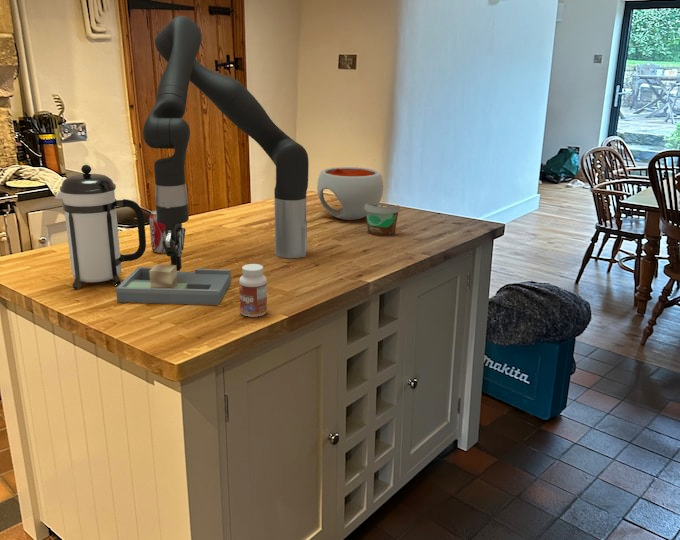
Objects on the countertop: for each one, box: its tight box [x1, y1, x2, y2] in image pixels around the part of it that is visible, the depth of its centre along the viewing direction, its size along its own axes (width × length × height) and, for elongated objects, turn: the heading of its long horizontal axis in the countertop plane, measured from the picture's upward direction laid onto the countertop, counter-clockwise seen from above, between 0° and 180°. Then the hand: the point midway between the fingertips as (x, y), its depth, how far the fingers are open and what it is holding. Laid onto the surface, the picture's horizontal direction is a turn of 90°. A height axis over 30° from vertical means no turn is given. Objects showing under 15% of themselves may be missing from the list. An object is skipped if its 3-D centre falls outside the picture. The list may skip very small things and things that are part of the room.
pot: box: [316, 166, 384, 221], centre depth 233 cm, size 24×24×18 cm
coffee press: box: [54, 164, 147, 290], centre depth 161 cm, size 17×16×30 cm
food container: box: [364, 202, 401, 237], centre depth 212 cm, size 12×6×10 cm, turn 68°
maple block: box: [149, 264, 178, 288], centre depth 153 cm, size 5×5×5 cm
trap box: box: [115, 266, 232, 306], centre depth 158 cm, size 24×16×4 cm, turn 89°
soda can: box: [148, 209, 166, 254], centre depth 189 cm, size 7×7×12 cm
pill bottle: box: [238, 263, 268, 318], centre depth 145 cm, size 6×6×11 cm
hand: (176, 269), depth 160 cm, fingers closed
